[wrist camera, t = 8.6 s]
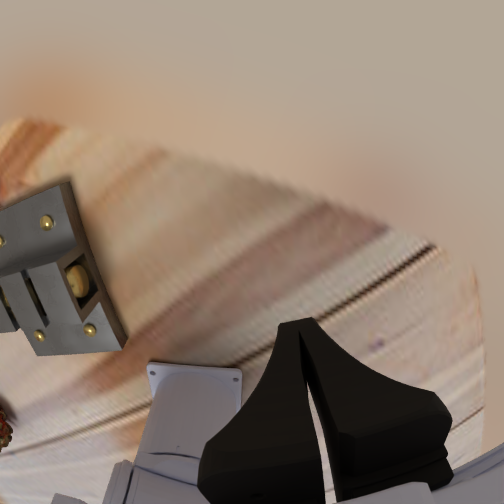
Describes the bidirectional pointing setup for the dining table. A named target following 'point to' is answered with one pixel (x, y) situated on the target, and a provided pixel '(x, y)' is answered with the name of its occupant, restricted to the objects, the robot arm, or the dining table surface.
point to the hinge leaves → (53, 278)
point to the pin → (76, 281)
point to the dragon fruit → (4, 430)
